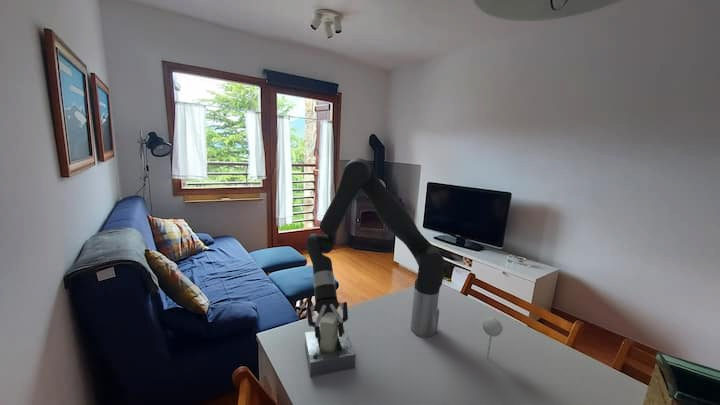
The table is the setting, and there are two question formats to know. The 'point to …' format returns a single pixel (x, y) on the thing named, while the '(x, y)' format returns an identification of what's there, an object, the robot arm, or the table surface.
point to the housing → (329, 355)
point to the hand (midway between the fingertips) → (330, 337)
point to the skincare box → (329, 333)
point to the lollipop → (492, 328)
